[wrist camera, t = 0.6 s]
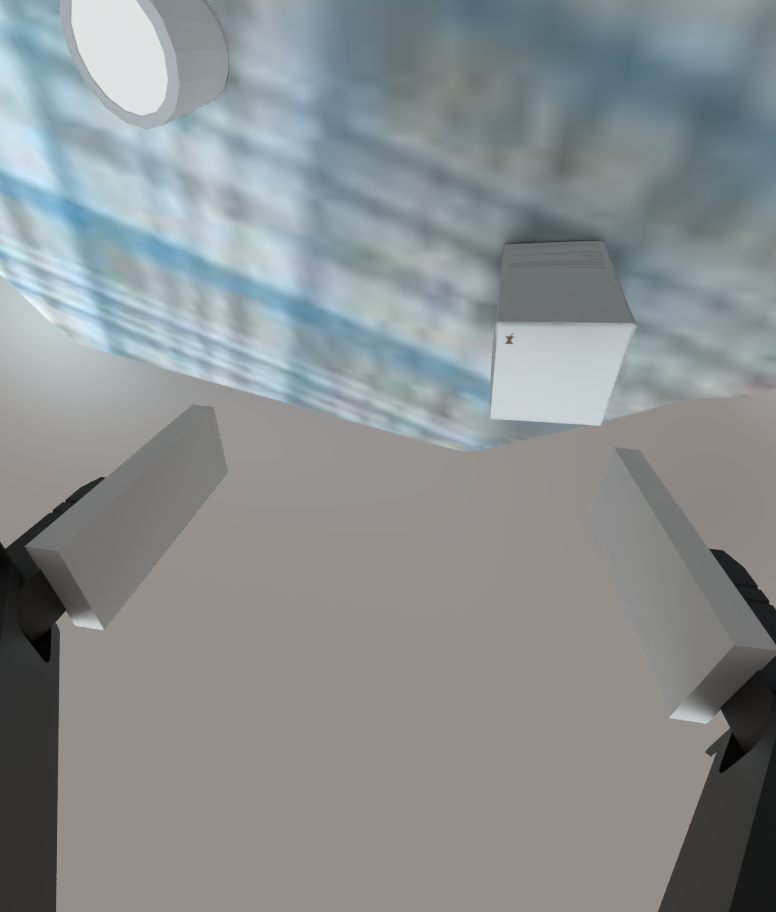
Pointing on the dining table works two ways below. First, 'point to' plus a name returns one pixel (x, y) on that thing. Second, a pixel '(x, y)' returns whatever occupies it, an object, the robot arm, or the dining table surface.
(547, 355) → the supplement box
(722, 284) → the dining table surface
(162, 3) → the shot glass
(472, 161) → the dining table surface
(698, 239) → the dining table surface
